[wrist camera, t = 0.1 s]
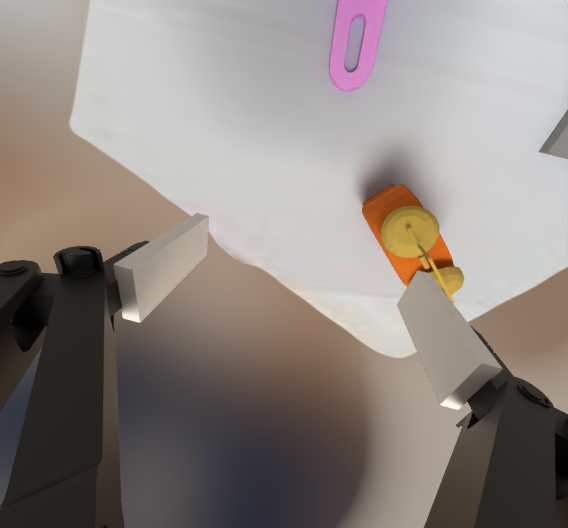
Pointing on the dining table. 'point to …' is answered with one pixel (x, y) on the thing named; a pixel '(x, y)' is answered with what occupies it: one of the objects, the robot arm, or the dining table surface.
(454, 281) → the alarm clock
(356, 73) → the bracket
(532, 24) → the dining table surface
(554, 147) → the post
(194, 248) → the robot arm
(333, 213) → the dining table surface
